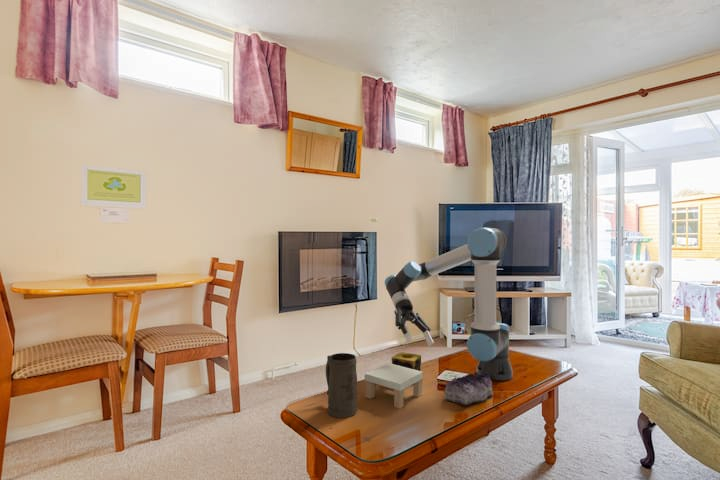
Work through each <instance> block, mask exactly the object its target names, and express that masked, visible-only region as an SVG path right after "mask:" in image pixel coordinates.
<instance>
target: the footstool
mask: <svg viewBox="0 0 720 480" xmlns="http://www.w3.org/2000/svg"><path fill="white" fill-rule="evenodd" d="M423 379H424V371H418V370H414V369H410V368H406V367H402V366H399V365H395V364H392V362H391V363H390V362H388V363H386V364H384V365H381V366H379V367H376V368H374V369H372V370H369V371H368V372H365V373H364V381H365V398H367V399H371V400H372V399H373V398H375V390H376V389H375V384H376V385H380V386H382V387H385V388H387V389H392V390H394V393H393V394H394V396H393V407H394V408H396V409H399V410H400V409H402V408H403V407H404V398H405V397H404V393H405V392H404V391H405V389H407V388H409V387H410V386H412V390H413V394H412V395H413V396H414V397H417V398H419V397H422V396H423ZM412 384H413V385H412Z"/></svg>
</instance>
